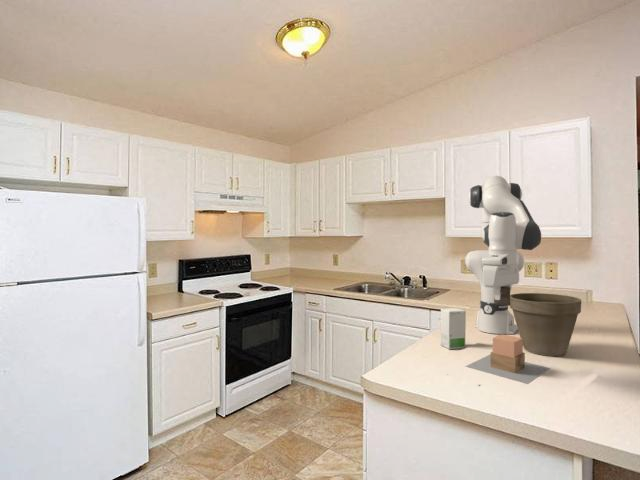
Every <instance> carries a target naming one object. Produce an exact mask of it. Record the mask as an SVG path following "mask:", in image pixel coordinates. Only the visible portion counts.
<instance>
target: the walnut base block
mask: <svg viewBox="0 0 640 480" xmlns="http://www.w3.org/2000/svg"><path fill="white" fill-rule="evenodd" d="M490 354H491V367H493V368H496V369H500V370H504V371H508V372H511V373H517V372H518V371H520V370H522V369H523V368H525V362H526V361H525V360H526V354H525V352H523V353H522V354H520V355H518V356H516V357H510V356H505V355H501V354H497V353H493V351H491V352H490Z"/></svg>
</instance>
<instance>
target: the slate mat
mask: <svg viewBox="0 0 640 480" xmlns="http://www.w3.org/2000/svg"><path fill="white" fill-rule="evenodd" d="M464 367H466V368H469V369H472V370H475V371H480V372H484V373H486V374H491V375H494V376H497V377H501V378H503V379H508V380H512V381H515V382H519V383H522V384H524V385H525V384H526V385H529V384H530V383H532V382H533V381H534V380H535V379H538V378H539V377H540V376H542V375H543V374H544V373H546V372H547V371H549V370H551V367H548V366H543V365H539V364H535V363H532V362H531V363H530V362H527V361H525V368H523V369H522V370H520V371H518V372H517V373H511V372H508V371H504V370H500V369H496V368H493V367H491V353H490V354H488V355H486V356H484V357H481V358H480V359H478V360H476V361H474V362H472V363H470V364H468V365H465V366H464Z"/></svg>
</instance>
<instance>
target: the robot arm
mask: <svg viewBox="0 0 640 480" xmlns="http://www.w3.org/2000/svg"><path fill="white" fill-rule="evenodd" d="M522 196H523V192H522V188H521V185H519V183H515V182H509V183H508V181H507V180H506V178H504V177H503V176H500V175H493V176H490V177H488V178H487V179H486V180H485V181H484V184H482V185H479V184H478V185H474V186H472V187H471V188H470V190H469V192H468V196H467V198H468V203H469V204H470V206H471V207H472V208H474V209H475V208H476V209H481V214H480V236H481V238H482V240H483V243H484V244H485V245H486V246H487V247H488V249H477V250H476V249H475V250H472V251H469V252H468V253H467V254H466V255H465V258H464V265H465V266H466V268H467V270H469V271H470V272H471V273H473V274H474V275H475V276H476V279H477V280H478V282H479V285H480V295H481V296H480V298H481V300H480V303H479V308H480V309H479V310H478V311H477V317H476V318H477V319H476V324H474V325H473V326H474V328H476V329H477V330H478V331H479V332H484V333H488V334H495V335H496V334H497V335H501V334H503V335H514V334H515V333H517V332H518V328H517V324H515V317H514V314H512V313H511V312H510V310H509V307H510V305H508V306H503V305H496V304H494V294H495V300H501V299H502V295H501V294H500V290H501V287H502V286H506V287H510V292H511V291H512V286H513V285H517V284H519V282H520V272H521V271H522V269H523V267H524V265H525V259H524V256H523V255H522V254H521V253H520V252H519V251H518V250H525V251H532V250H534V249H536V248H537V247H538V246H539V245H540V244H541V242H542V231H541V228H540V226H539V225H538V223H536V222H535V220H534V218H533V217H532V214H531V213H530V211H529V209H528V207H527V206H526V203H524V201H523V200H522ZM516 220H517V221H516Z"/></svg>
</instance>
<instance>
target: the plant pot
mask: <svg viewBox="0 0 640 480" xmlns="http://www.w3.org/2000/svg"><path fill="white" fill-rule="evenodd" d="M509 308H510V309H511V310H512V312H513V316H514V322H515V325H517V328H518V330H517V332H518V333H519V338H523V350H525V351H527V352H529V353H533V354H534V355H539V356H547V357H561V356H565V355H566V354H567V351H568V348H569V345H570V342H571V339H572V336H573V332H574V329H575V325H576V323H577V319H578V315H579V314H580V313H581V312H582V299H581V298H579V297H575V296H570V295H565V294H557V293H556V294H555V293H544V292H543V293H542V292H541V293H540V292H523V293H522V292H521V293H513V294H510V305H509Z"/></svg>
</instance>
